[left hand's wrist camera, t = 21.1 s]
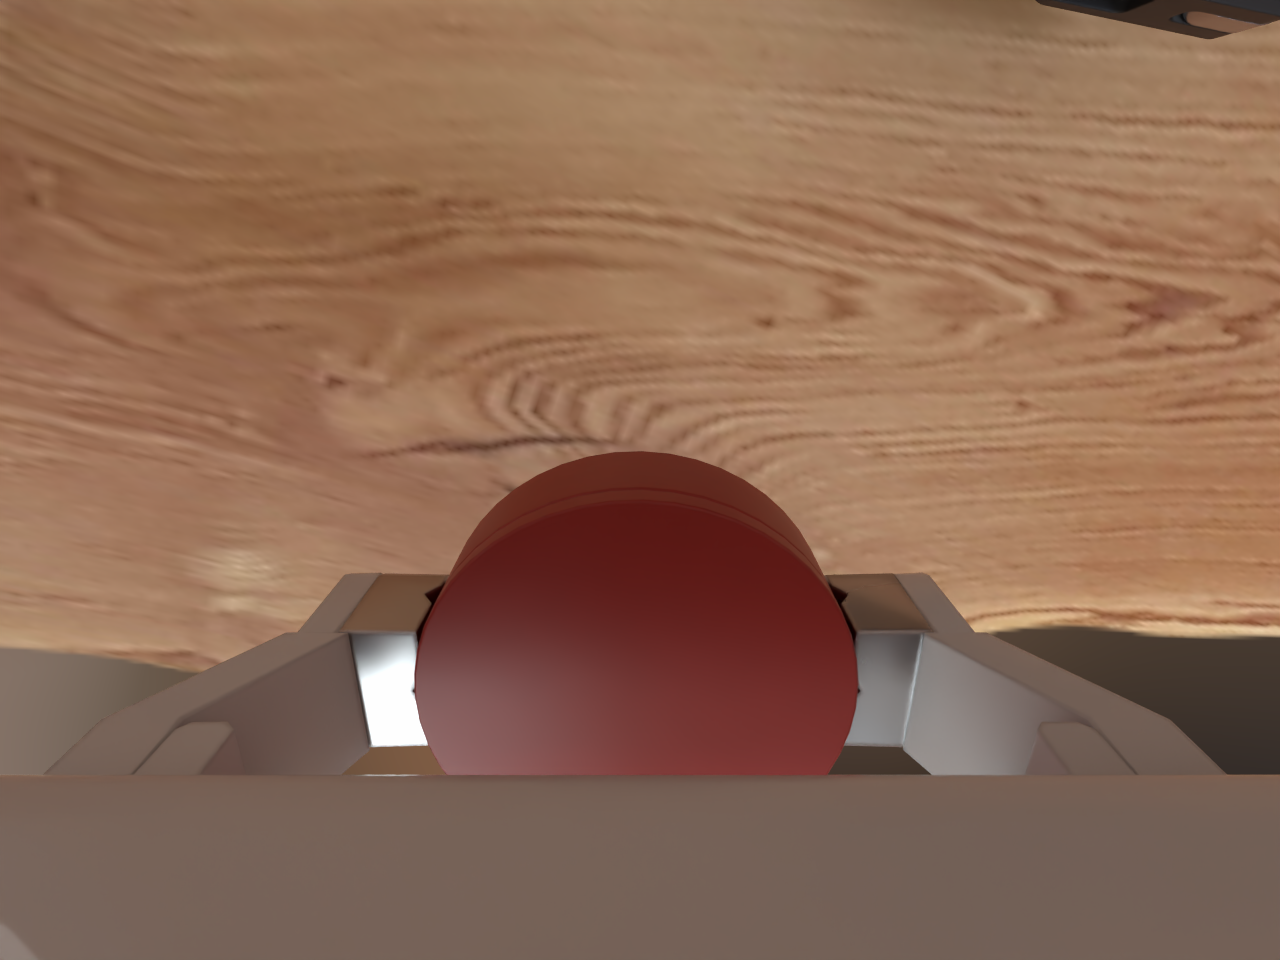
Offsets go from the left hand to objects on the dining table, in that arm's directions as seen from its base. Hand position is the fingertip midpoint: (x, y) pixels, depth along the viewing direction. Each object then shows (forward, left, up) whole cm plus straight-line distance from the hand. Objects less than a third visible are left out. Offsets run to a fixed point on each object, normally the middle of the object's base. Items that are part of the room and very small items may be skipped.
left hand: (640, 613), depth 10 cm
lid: (0, 0, +2) cm, 2 cm away
